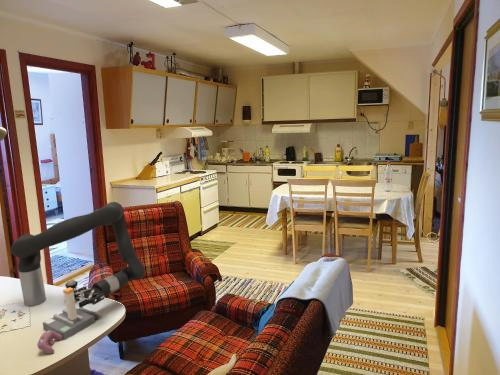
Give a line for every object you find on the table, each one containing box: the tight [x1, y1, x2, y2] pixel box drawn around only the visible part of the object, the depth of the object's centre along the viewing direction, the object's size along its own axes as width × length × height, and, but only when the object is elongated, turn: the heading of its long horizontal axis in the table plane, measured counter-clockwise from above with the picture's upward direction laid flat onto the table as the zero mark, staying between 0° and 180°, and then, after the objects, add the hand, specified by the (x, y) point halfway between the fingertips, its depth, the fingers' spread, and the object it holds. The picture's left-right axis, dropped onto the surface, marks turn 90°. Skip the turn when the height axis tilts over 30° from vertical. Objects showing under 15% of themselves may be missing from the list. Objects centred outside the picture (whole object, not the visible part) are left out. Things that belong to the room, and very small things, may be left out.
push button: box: [64, 279, 80, 304], centre depth 179 cm, size 7×5×10 cm
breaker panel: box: [42, 308, 96, 341], centre depth 159 cm, size 15×14×4 cm
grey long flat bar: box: [78, 307, 102, 322], centre depth 167 cm, size 14×3×1 cm, turn 58°
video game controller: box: [36, 330, 64, 354], centre depth 145 cm, size 10×5×7 cm, turn 6°
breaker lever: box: [63, 287, 77, 322], centre depth 156 cm, size 3×3×14 cm
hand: (73, 303), depth 157 cm, fingers open, 8 cm apart
